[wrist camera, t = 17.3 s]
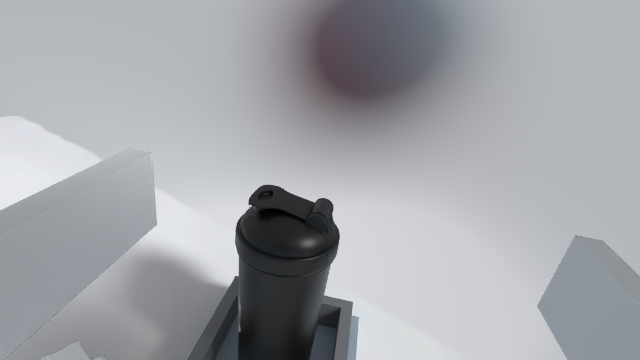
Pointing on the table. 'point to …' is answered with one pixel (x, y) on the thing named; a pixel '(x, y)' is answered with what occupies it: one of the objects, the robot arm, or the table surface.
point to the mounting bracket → (71, 353)
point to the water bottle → (282, 273)
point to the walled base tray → (329, 342)
